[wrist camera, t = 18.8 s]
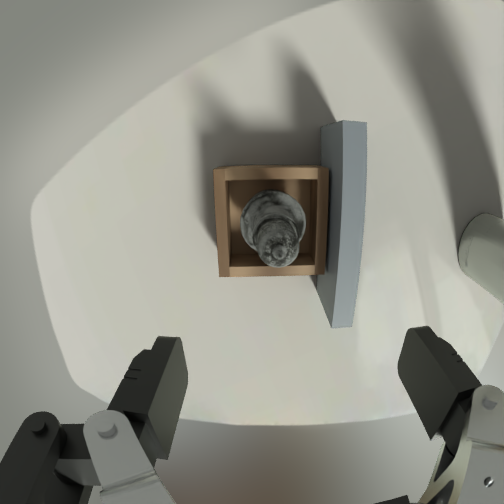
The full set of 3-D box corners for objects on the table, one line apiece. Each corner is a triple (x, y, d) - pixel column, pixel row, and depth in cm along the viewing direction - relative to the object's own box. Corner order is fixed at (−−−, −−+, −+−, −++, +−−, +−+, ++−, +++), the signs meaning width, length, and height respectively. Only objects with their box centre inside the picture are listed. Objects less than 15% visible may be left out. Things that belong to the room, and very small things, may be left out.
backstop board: (339, 128, 28) (366, 122, 20) (333, 289, 34) (351, 326, 26) (320, 127, 28) (342, 120, 20) (316, 289, 34) (331, 328, 26)
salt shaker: (233, 196, 29) (219, 227, 18) (290, 178, 29) (314, 198, 17) (252, 250, 31) (250, 309, 20) (306, 233, 30) (335, 284, 19)
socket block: (318, 165, 29) (328, 168, 25) (315, 258, 32) (324, 274, 28) (219, 166, 29) (213, 169, 25) (224, 260, 33) (219, 276, 28)
